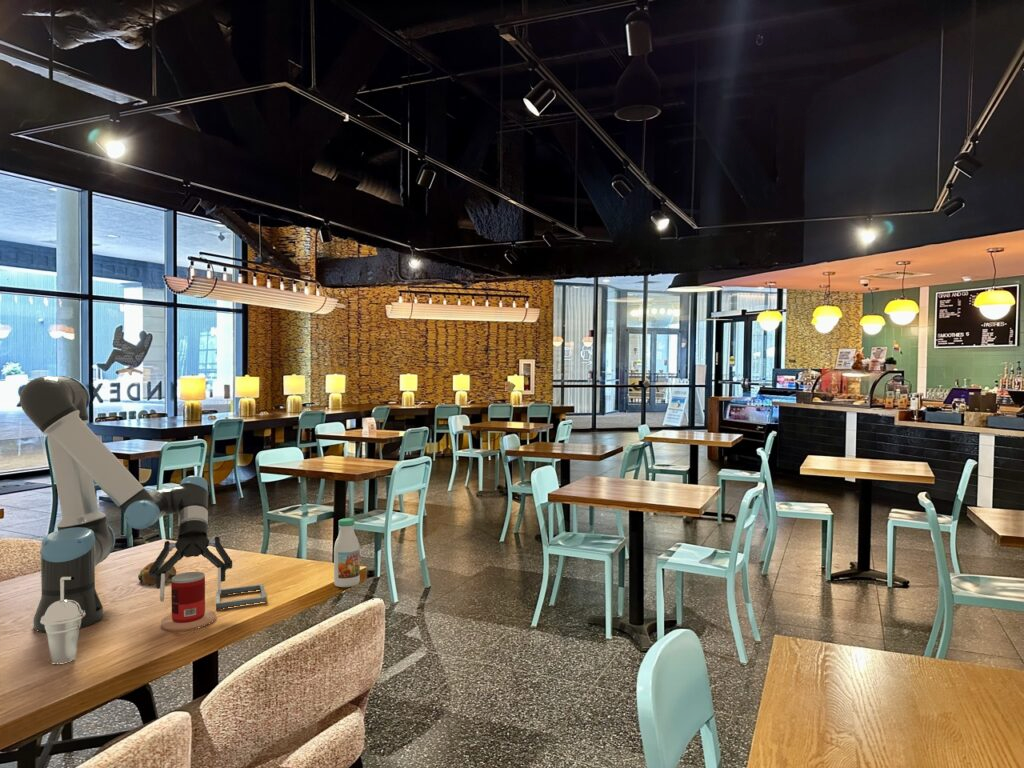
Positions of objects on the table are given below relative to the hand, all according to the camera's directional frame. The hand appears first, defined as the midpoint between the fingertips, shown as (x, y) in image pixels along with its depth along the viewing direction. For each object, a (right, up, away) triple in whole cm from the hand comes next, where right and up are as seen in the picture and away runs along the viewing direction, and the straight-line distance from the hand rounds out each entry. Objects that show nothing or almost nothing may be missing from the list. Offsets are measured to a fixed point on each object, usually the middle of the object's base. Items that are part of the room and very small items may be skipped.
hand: (190, 595), depth 174 cm
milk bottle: (+33, -6, +30) cm, 46 cm away
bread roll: (-27, -6, +34) cm, 44 cm away
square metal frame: (+6, -6, +16) cm, 19 cm away
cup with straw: (-17, -7, -25) cm, 31 cm away
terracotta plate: (0, -6, -1) cm, 7 cm away
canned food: (0, -6, -1) cm, 6 cm away
